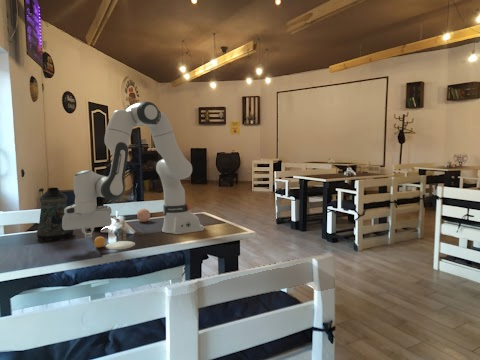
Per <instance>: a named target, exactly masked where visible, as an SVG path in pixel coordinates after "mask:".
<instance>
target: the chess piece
mask: <svg viewBox="0 0 480 360" xmlns="http://www.w3.org/2000/svg"><path fill="white" fill-rule="evenodd" d="M105 199H106V198H103V197H97V198H96V202H97V206H105V202H104V200H105ZM103 227H105V226H103ZM103 227H94V231H93V232H101V231H100V230H101V229H102V228H103ZM86 231H88V232H89V231H90V232H91V231H92V230H91V229H90V228H86Z"/></svg>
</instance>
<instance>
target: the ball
mask: <svg viewBox="0 0 480 360" xmlns="http://www.w3.org/2000/svg"><path fill="white" fill-rule="evenodd" d="M106 242H107V241H106V238H105V237H104V236H97V237H95V239H93V245H94V246H95V247H96V248H103V247H104V246H106Z"/></svg>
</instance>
